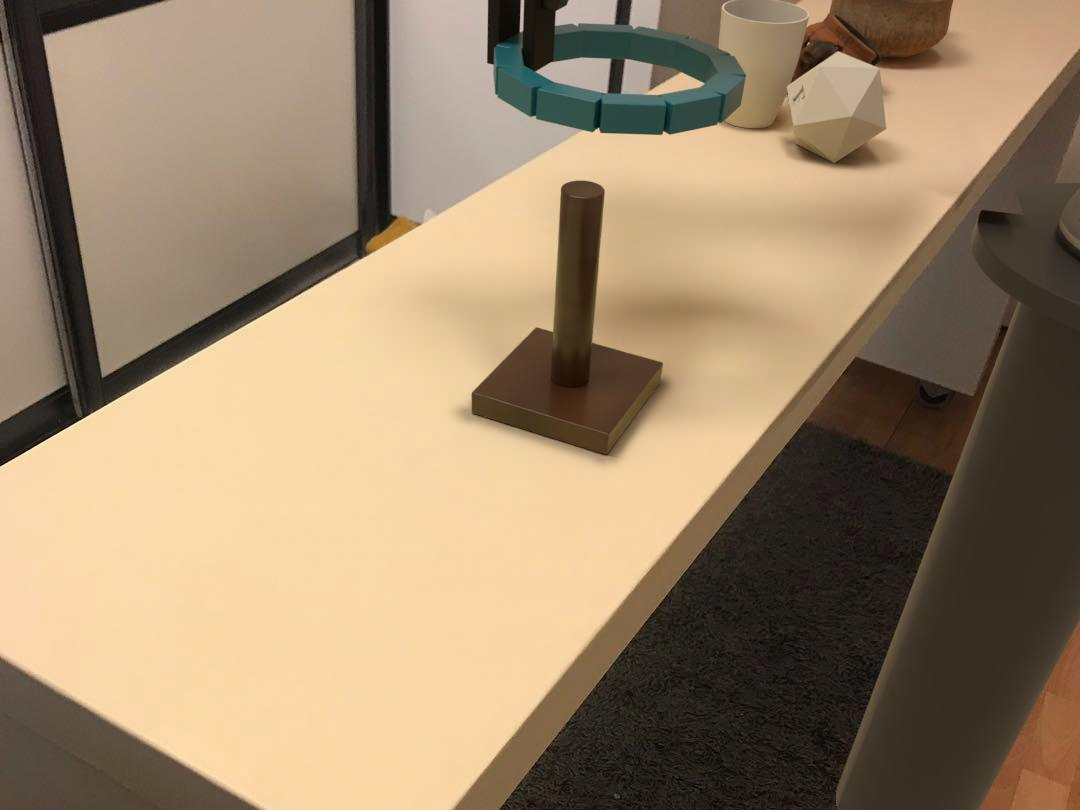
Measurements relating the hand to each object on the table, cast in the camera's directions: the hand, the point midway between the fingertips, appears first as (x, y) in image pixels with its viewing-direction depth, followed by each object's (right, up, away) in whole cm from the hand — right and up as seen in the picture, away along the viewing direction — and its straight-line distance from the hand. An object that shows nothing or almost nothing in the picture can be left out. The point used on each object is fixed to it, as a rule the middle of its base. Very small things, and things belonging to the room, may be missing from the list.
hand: (520, 61), depth 64 cm
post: (+3, -20, +3) cm, 20 cm away
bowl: (+42, +29, +62) cm, 80 cm away
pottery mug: (+31, +19, +49) cm, 61 cm away
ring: (+6, -2, -2) cm, 6 cm away
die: (+28, +8, +37) cm, 47 cm away
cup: (+22, +13, +42) cm, 49 cm away
